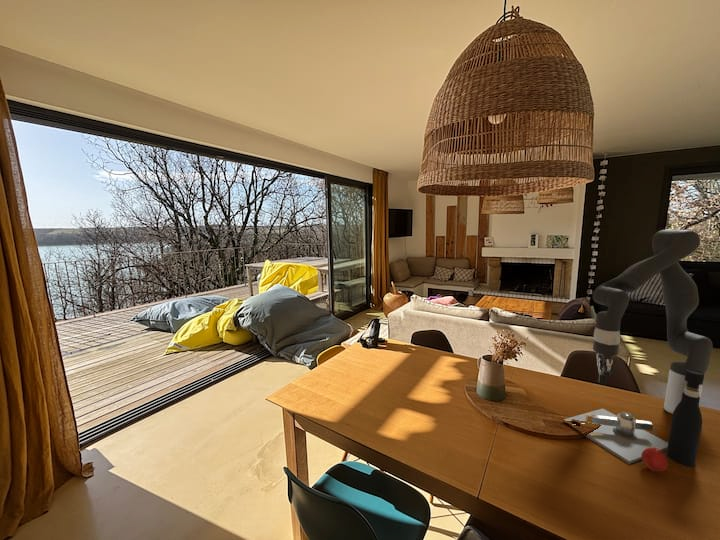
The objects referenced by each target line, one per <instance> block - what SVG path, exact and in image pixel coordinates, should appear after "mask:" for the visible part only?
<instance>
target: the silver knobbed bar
mask: <svg viewBox="0 0 720 540" xmlns="http://www.w3.org/2000/svg"><path fill="white" fill-rule="evenodd" d="M616 416H617V417H608V416H600V415H592V414H590V415H588V414H586V421H587V422H588V423H592V424H600V425H609V426H616V432H617V433H619V434H620V435H622V436H625V437H629V438H632V437H634V433H635V429H641V430H645V431H650V432H653V430H654V428H653V427H654V424H653V423H652V422H651V421H650V420H642V419H641V420H640V419H636V417H635V416H634V414H631V413H630V412H627V411H620V412H619V413H617V414H616Z"/></svg>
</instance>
